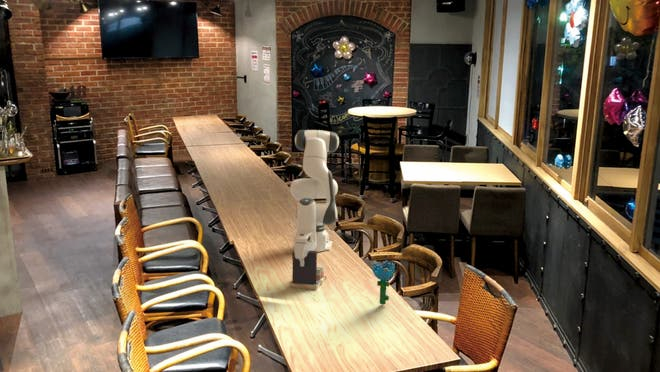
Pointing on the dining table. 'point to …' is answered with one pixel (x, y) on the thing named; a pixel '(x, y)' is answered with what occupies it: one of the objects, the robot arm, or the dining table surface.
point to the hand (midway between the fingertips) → (306, 262)
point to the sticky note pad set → (319, 280)
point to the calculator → (305, 269)
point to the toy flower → (383, 278)
